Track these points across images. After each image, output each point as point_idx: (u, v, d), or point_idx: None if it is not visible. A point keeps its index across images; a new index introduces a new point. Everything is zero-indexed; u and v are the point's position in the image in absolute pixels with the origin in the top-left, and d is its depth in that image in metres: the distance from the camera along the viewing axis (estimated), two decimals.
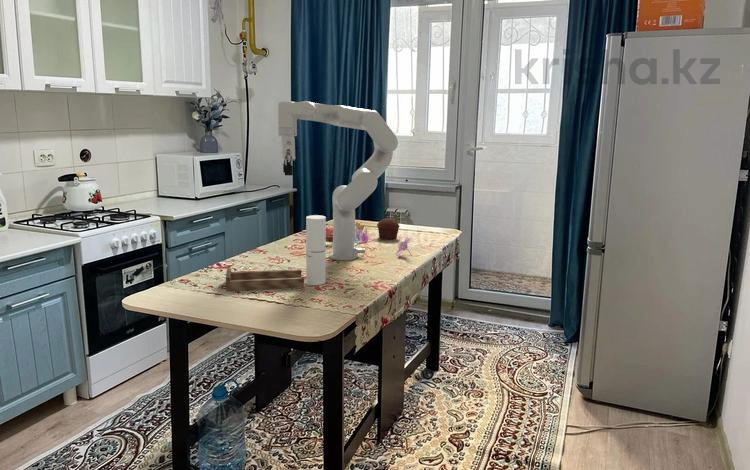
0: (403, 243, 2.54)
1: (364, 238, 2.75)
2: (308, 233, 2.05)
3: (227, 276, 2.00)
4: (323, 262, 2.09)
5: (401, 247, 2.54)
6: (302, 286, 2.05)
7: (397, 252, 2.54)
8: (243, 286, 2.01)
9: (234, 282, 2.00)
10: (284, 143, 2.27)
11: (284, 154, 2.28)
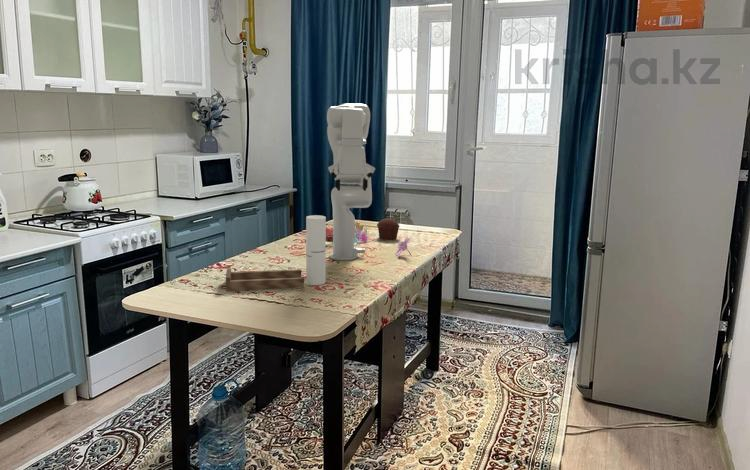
0: (403, 243, 2.54)
1: (364, 238, 2.76)
2: (308, 233, 2.05)
3: (227, 276, 2.00)
4: (323, 262, 2.09)
5: (401, 247, 2.53)
6: (302, 286, 2.05)
7: (397, 252, 2.54)
8: (243, 286, 2.01)
9: (234, 282, 2.00)
10: None
11: (365, 167, 2.06)
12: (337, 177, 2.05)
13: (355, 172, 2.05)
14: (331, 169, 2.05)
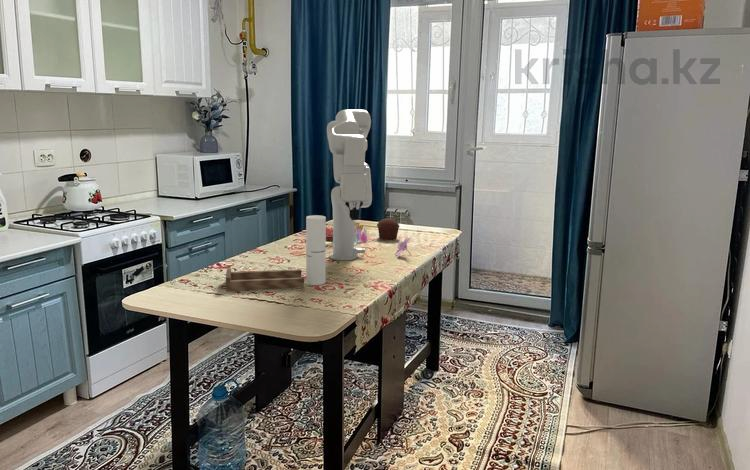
0: (402, 243, 2.53)
1: (363, 238, 2.76)
2: (308, 233, 2.05)
3: (227, 276, 2.00)
4: (323, 262, 2.09)
5: (400, 247, 2.53)
6: (302, 286, 2.05)
7: (396, 252, 2.54)
8: (243, 286, 2.01)
9: (234, 282, 2.00)
10: (367, 182, 2.06)
11: (367, 194, 2.07)
12: (351, 207, 2.07)
13: (357, 199, 2.06)
14: (343, 202, 2.07)
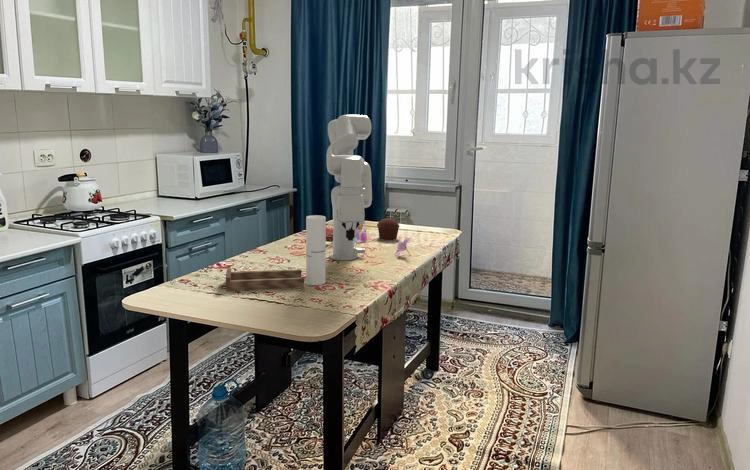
0: (402, 243, 2.53)
1: (363, 238, 2.76)
2: (308, 233, 2.05)
3: (227, 276, 2.00)
4: (323, 262, 2.09)
5: (400, 247, 2.53)
6: (302, 286, 2.05)
7: (396, 252, 2.54)
8: (243, 286, 2.01)
9: (234, 282, 2.00)
10: (363, 203, 2.08)
11: (364, 215, 2.09)
12: (348, 228, 2.09)
13: (354, 220, 2.08)
14: (339, 222, 2.08)
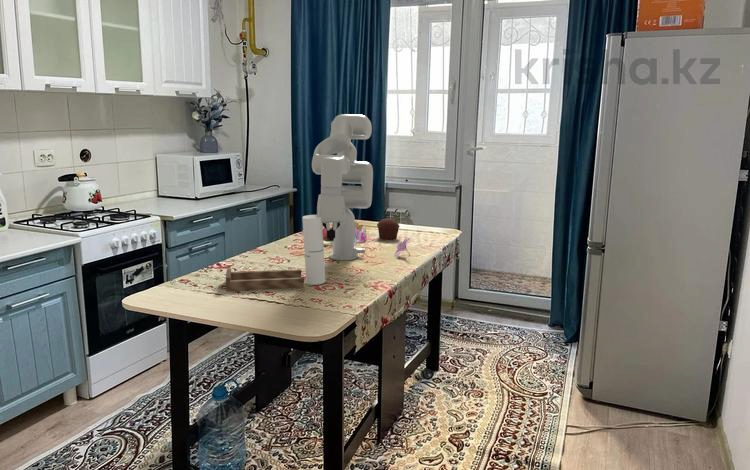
0: (402, 243, 2.53)
1: (363, 237, 2.76)
2: (305, 233, 2.05)
3: (227, 276, 2.00)
4: (322, 261, 2.08)
5: (400, 247, 2.53)
6: (302, 286, 2.05)
7: (396, 252, 2.53)
8: (243, 286, 2.01)
9: (234, 282, 2.00)
10: (344, 203, 2.06)
11: (344, 215, 2.07)
12: (328, 228, 2.07)
13: (334, 220, 2.06)
14: None
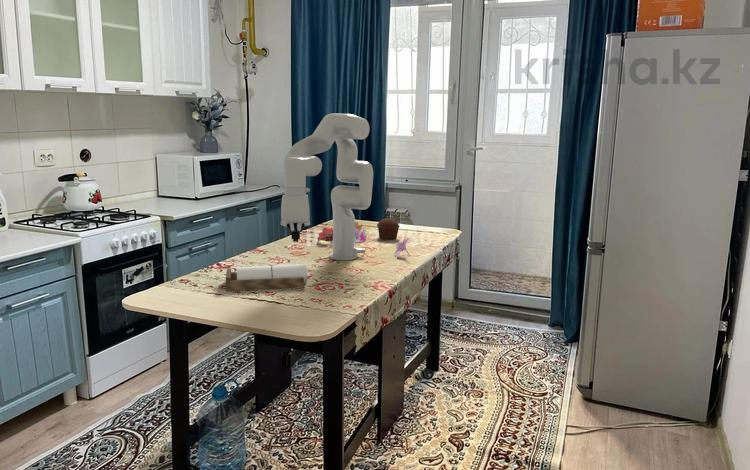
0: (401, 243, 2.53)
1: (362, 237, 2.77)
2: None
3: (227, 276, 2.00)
4: (283, 268, 2.06)
5: (399, 248, 2.53)
6: (302, 286, 2.05)
7: (395, 253, 2.53)
8: (243, 286, 2.01)
9: (234, 282, 2.00)
10: (308, 203, 2.03)
11: (309, 215, 2.04)
12: (292, 229, 2.04)
13: (298, 220, 2.03)
14: (284, 223, 2.04)
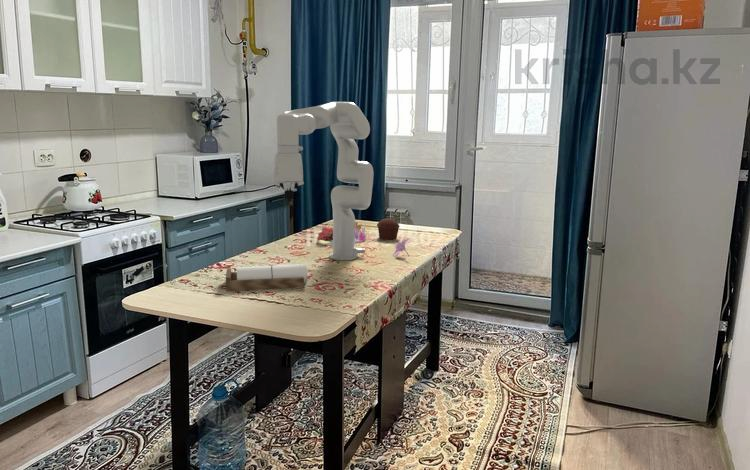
0: (400, 244, 2.52)
1: (362, 237, 2.77)
2: None
3: (227, 276, 2.00)
4: (283, 268, 2.06)
5: (398, 248, 2.52)
6: (302, 286, 2.05)
7: (394, 253, 2.53)
8: (243, 286, 2.01)
9: (234, 282, 2.00)
10: (301, 162, 2.00)
11: (302, 174, 2.01)
12: (286, 188, 2.01)
13: (292, 179, 2.00)
14: (276, 182, 2.00)
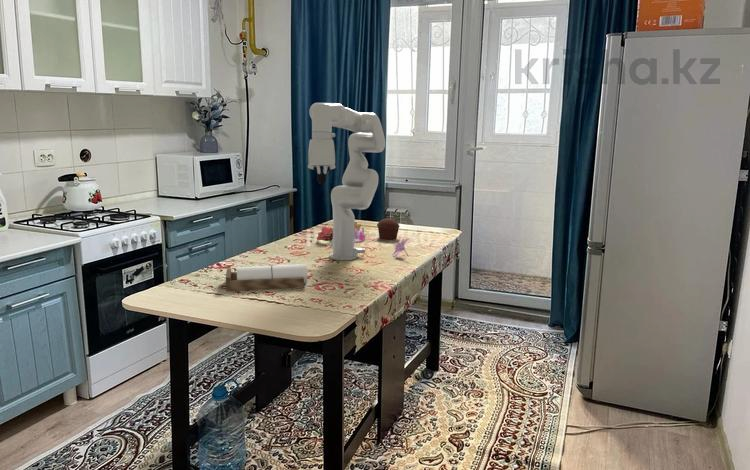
0: (400, 244, 2.52)
1: (361, 237, 2.78)
2: None
3: (227, 276, 2.00)
4: (283, 268, 2.06)
5: (398, 248, 2.52)
6: (302, 286, 2.05)
7: (394, 253, 2.52)
8: (243, 286, 2.01)
9: (234, 282, 2.00)
10: None
11: (334, 159, 2.18)
12: (319, 171, 2.18)
13: (325, 163, 2.17)
14: (311, 166, 2.17)
